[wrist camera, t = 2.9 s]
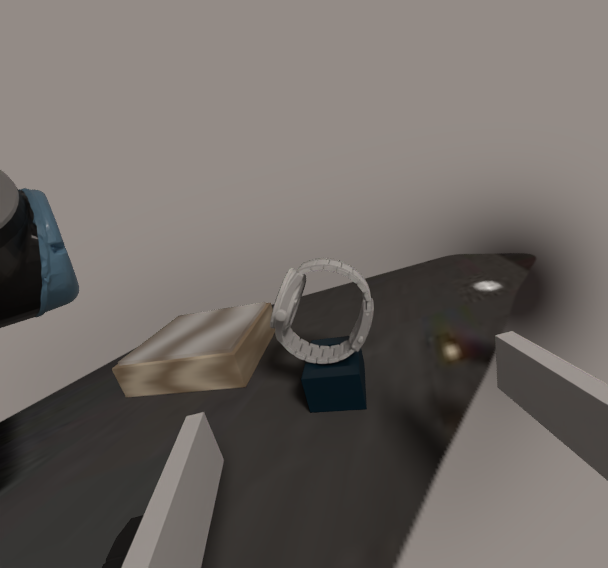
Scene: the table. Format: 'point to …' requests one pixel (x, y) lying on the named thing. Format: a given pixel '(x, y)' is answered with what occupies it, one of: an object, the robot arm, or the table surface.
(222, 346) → the plate
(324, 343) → the watch
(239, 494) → the table surface
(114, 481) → the table surface
